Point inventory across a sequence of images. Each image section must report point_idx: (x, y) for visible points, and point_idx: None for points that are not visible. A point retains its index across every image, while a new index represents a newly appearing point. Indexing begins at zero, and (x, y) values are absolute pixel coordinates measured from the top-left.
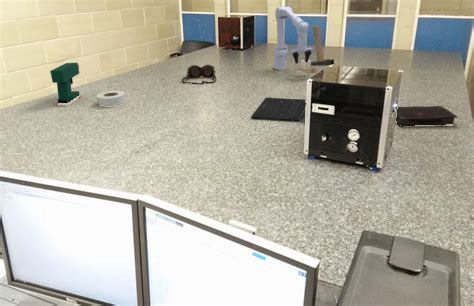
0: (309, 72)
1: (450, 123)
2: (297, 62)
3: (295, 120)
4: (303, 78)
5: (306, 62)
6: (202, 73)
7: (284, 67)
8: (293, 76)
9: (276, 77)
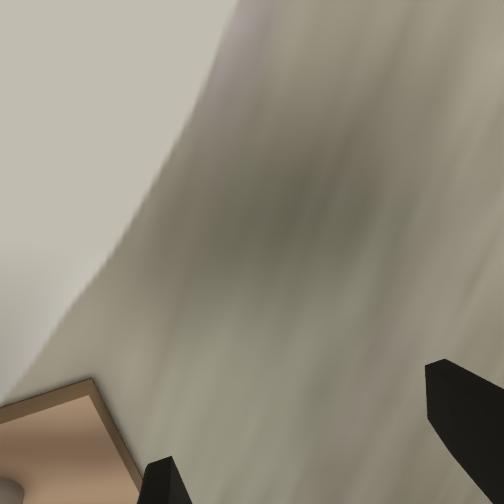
0: (64, 456)
1: None
2: (459, 376)
3: None
4: (213, 237)
5: (176, 468)
6: None
7: None
8: (300, 356)
9: (481, 339)
